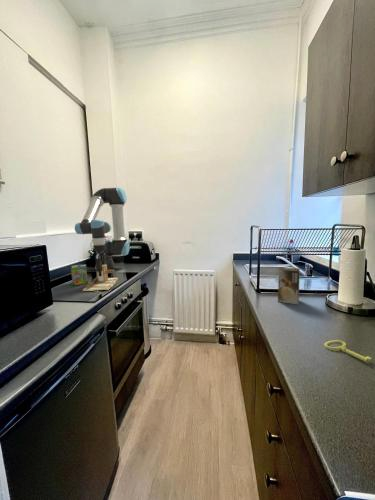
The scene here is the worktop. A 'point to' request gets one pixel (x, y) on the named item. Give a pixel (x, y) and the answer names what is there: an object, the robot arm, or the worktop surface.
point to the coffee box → (288, 285)
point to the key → (345, 350)
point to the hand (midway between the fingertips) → (102, 279)
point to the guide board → (100, 284)
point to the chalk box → (79, 274)
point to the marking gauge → (105, 273)
